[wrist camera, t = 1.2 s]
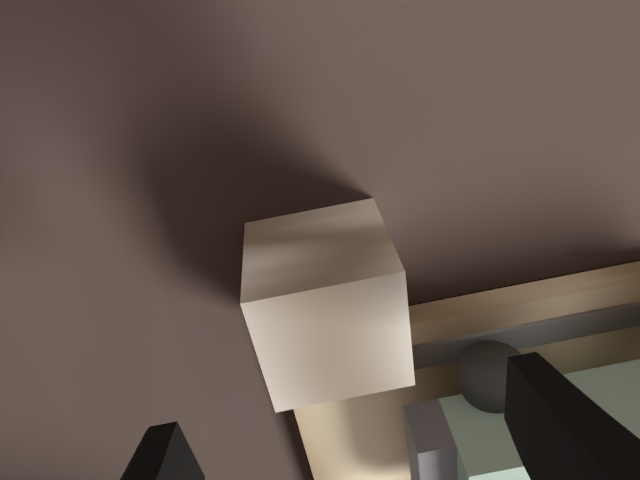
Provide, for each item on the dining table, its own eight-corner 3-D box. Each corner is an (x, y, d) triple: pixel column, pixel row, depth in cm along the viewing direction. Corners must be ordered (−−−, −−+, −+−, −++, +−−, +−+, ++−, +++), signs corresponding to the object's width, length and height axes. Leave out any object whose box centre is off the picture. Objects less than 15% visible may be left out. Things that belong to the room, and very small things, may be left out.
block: (272, 319, 17) (275, 412, 14) (244, 221, 15) (240, 303, 12) (384, 297, 17) (415, 385, 14) (372, 196, 15) (405, 271, 12)
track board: (324, 503, 23) (335, 600, 20) (275, 332, 17) (279, 427, 14) (824, 405, 23) (920, 485, 20) (942, 201, 17) (1108, 265, 14)
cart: (411, 509, 21) (437, 611, 18) (392, 358, 16) (424, 459, 13) (662, 460, 21) (733, 553, 18) (720, 294, 16) (831, 380, 13)
